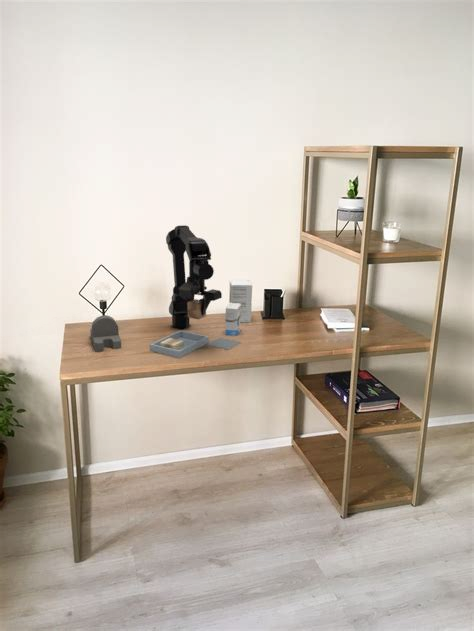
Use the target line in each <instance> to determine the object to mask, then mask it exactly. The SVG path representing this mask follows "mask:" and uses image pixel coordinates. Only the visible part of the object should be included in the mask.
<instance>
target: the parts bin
mask: <svg viewBox="0 0 474 631" xmlns="http://www.w3.org/2000/svg"><path fill="white" fill-rule="evenodd" d="M209 337H210V336H209V335H203V334H198V333H194V332H190V331H184V330H180V329H179V330H178V331H176V332H174V333H172V334H169V335H167V336H165V337H163V338H161V339H158V340H157V341H154V342H152V343H150V344H149V351H150V352H153V353H157V354H160V355H165V356H169V357H173V358H178V359H180V358H182V357H185V356H186V355H188V354H190V353H191V352H194V351H195V350H197V349H200V348H201V347H203V346H206V344H208V343H210V342H209V341H210V340H209ZM169 338H173V339H177V340H182V341H183V349H181V350H174V349H170V348H166V347H162V346H161V343H160V342H163V341H165V340H167V339H169Z"/></svg>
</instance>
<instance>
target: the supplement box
mask: <svg viewBox="0 0 474 631" xmlns="http://www.w3.org/2000/svg"><path fill="white" fill-rule="evenodd" d="M252 295H253V285H252V282H251V280H250V279H230V280H229V300H228V302H229V303H239V304H241V321H240V323H252V301H253V300H252V298H253V296H252ZM229 303H228V304H229Z"/></svg>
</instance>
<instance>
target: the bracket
mask: <svg viewBox="0 0 474 631" xmlns="http://www.w3.org/2000/svg"><path fill="white" fill-rule="evenodd" d="M89 331H90V340H91V343H92V345H93V349H94V351H95V352H97V353H101V352H104V351H105V348H112V349H113V350H118V349H122V339H121V337H120V334H119V333H120V332H119V326H118V323H117V322H116V319H114V318H113V317H112V316H110V315H100V316H97V317H96V318H95V319H94V320H93V322H92V324H91V328H90V330H89Z"/></svg>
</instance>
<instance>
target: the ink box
mask: <svg viewBox="0 0 474 631" xmlns="http://www.w3.org/2000/svg"><path fill="white" fill-rule="evenodd" d="M240 321H241V304H239V303H228V304H227V306H226V307H225V335H226V336H238V335H239V334H240V332H241V322H240Z"/></svg>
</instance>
